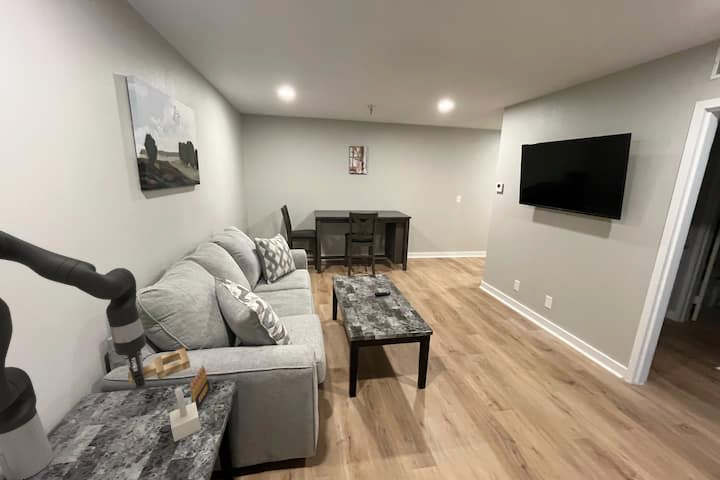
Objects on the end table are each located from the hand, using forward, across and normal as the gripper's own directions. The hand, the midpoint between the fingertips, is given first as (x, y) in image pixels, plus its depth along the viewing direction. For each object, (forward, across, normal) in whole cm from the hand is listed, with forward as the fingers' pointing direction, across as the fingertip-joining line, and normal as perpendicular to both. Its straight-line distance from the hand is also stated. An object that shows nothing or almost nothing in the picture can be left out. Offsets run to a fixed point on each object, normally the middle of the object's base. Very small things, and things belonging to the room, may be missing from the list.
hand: (140, 382), depth 94 cm
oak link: (-2, 0, +6) cm, 6 cm away
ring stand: (+23, +1, +9) cm, 25 cm away
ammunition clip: (+23, -10, +16) cm, 30 cm away
